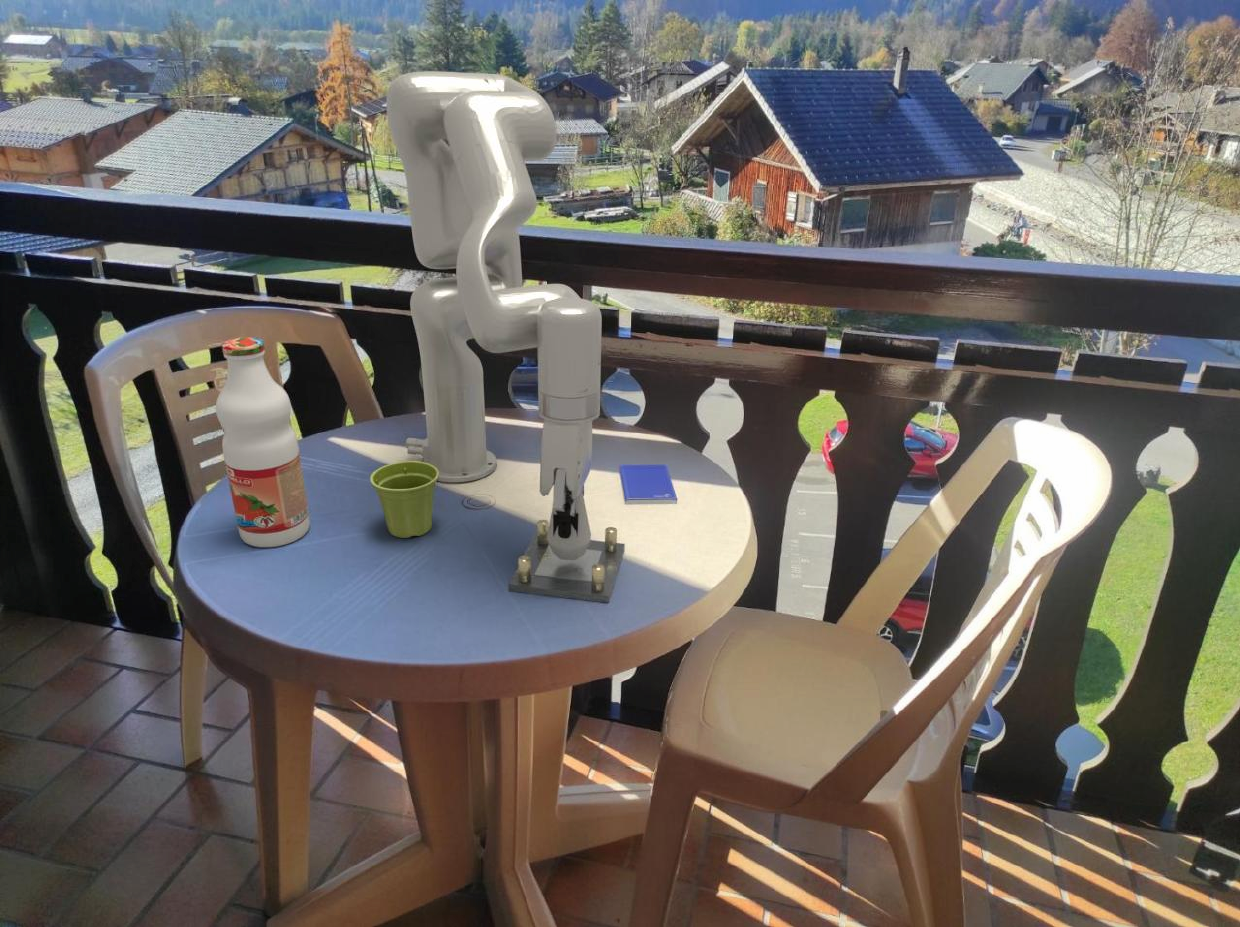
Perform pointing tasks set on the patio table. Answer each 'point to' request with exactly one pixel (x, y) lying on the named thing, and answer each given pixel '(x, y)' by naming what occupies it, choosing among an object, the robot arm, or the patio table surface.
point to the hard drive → (647, 484)
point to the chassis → (569, 568)
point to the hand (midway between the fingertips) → (568, 531)
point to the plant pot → (406, 496)
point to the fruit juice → (260, 450)
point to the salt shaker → (572, 545)
